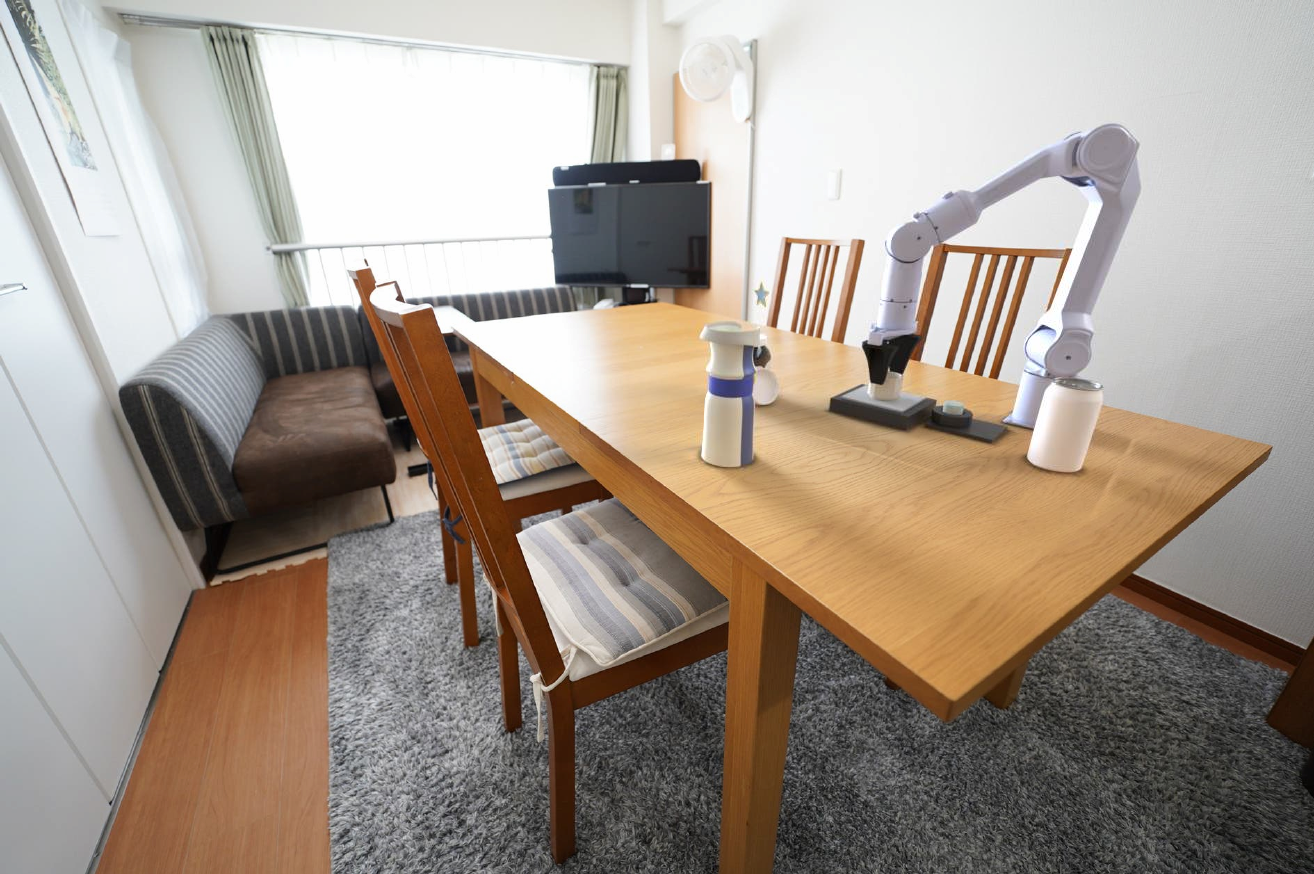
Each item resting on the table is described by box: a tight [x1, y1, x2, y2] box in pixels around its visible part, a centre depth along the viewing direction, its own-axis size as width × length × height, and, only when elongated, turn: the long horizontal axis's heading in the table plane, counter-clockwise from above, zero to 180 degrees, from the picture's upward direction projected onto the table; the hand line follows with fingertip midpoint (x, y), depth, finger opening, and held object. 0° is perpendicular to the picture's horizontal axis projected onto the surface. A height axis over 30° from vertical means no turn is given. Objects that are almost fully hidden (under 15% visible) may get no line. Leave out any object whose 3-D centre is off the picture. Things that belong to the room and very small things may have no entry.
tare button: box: [942, 399, 965, 415], centre depth 90 cm, size 3×3×2 cm
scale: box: [828, 383, 938, 432], centre depth 97 cm, size 14×12×3 cm
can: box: [1026, 378, 1104, 474], centre depth 75 cm, size 6×6×12 cm
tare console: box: [924, 404, 1008, 444], centre depth 90 cm, size 10×8×2 cm
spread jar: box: [753, 333, 780, 406], centre depth 104 cm, size 12×11×12 cm
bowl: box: [868, 370, 904, 401], centre depth 96 cm, size 5×5×4 cm
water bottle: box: [699, 281, 770, 468], centre depth 76 cm, size 8×9×25 cm
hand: (886, 379), depth 95 cm, fingers open, 7 cm apart
